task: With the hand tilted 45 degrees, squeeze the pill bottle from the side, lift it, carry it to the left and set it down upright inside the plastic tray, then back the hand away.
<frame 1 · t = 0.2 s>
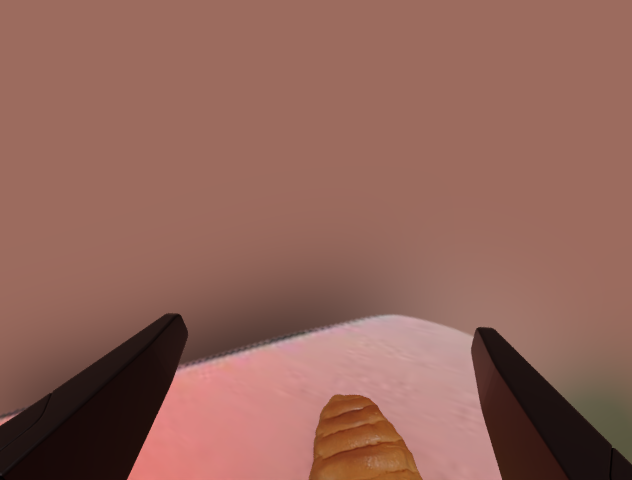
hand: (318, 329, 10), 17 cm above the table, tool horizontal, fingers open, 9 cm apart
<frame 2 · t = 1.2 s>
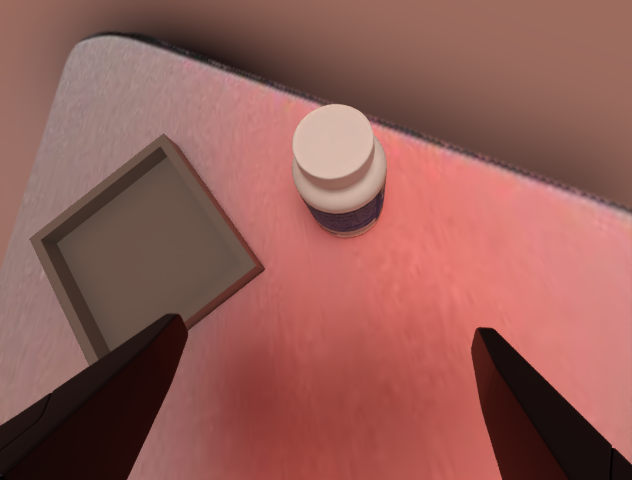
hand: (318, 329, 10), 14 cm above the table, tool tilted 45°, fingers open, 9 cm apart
tray: (151, 255, 27), on the table
pill bottle: (347, 205, 25), on the table
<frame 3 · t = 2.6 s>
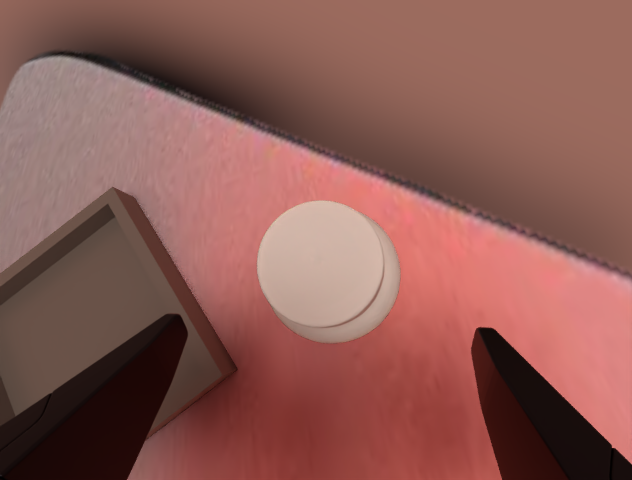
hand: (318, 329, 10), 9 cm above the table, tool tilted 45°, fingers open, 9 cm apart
tray: (95, 341, 21), on the table
pill bottle: (344, 286, 19), on the table
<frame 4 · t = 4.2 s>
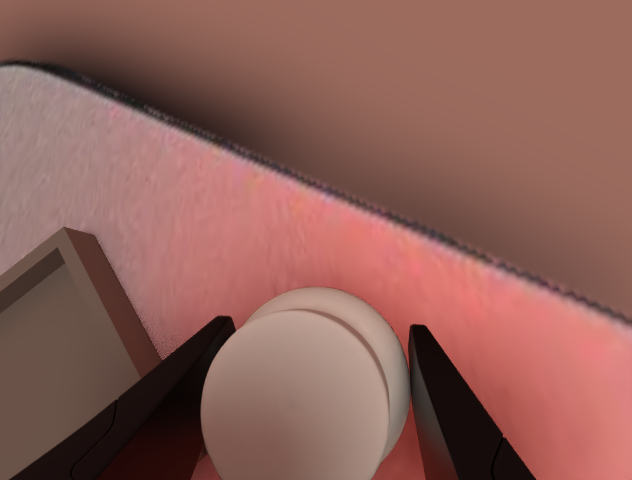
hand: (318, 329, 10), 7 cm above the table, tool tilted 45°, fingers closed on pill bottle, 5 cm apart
tray: (45, 409, 18), on the table
pill bottle: (339, 350, 16), on the table, touching gripper
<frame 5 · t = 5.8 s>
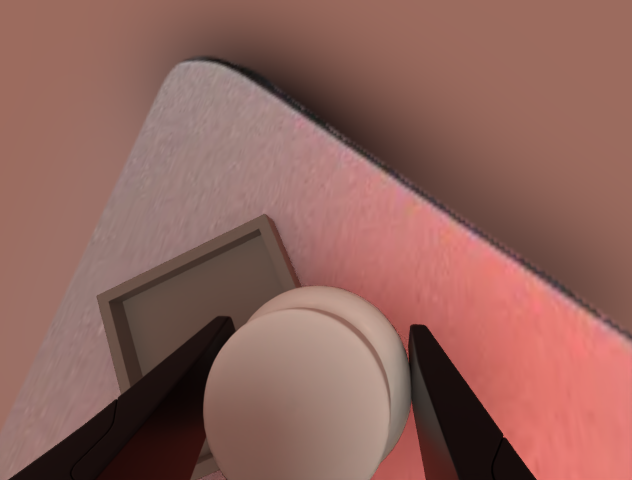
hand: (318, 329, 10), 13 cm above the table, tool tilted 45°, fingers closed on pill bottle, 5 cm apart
tray: (222, 345, 24), on the table
pill bottle: (341, 349, 16), point 6 cm above the table, touching gripper
when the fingers open (8 cm above the table, at t = 7.6 s): pill bottle stays where it is, resting on tray.
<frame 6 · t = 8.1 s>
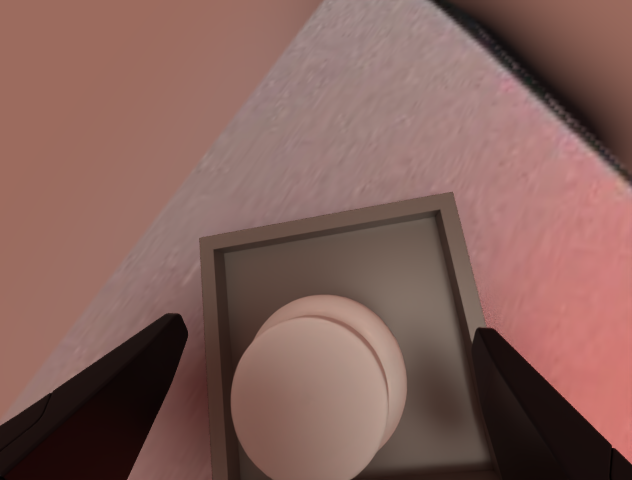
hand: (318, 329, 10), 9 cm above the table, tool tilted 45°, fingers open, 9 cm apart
tray: (342, 346, 18), on the table
pill bottle: (342, 350, 18), resting on tray
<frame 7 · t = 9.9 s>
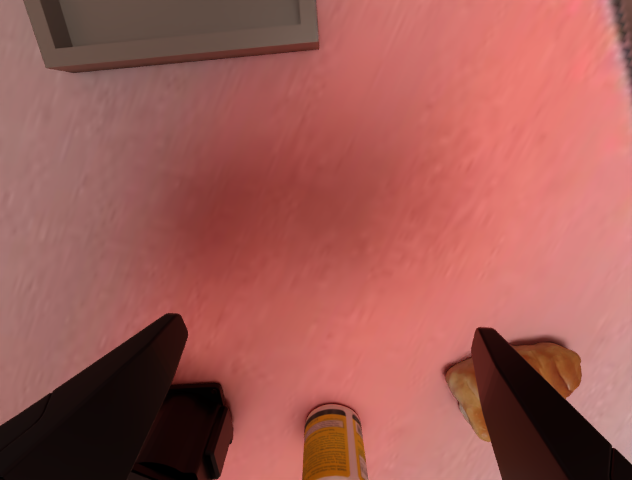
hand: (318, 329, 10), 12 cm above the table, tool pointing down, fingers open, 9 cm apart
supplement bottle: (332, 420, 28), on the table
pastry: (495, 371, 26), on the table
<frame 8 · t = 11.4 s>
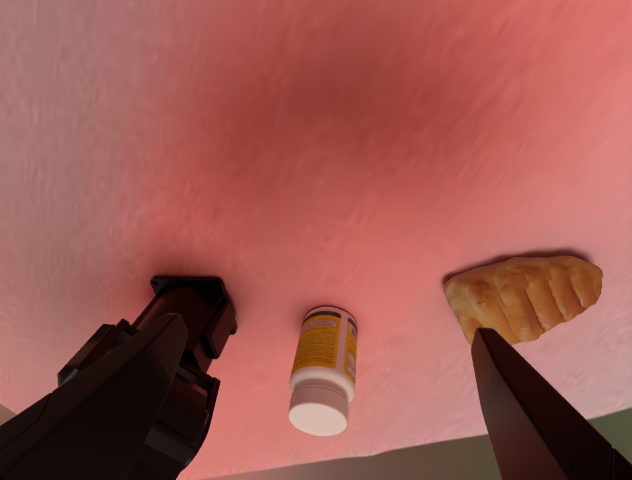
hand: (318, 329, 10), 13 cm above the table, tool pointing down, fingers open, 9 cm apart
supplement bottle: (330, 322, 29), on the table
pastry: (502, 285, 24), on the table
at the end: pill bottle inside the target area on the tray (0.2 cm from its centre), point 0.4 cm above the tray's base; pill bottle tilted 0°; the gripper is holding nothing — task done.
